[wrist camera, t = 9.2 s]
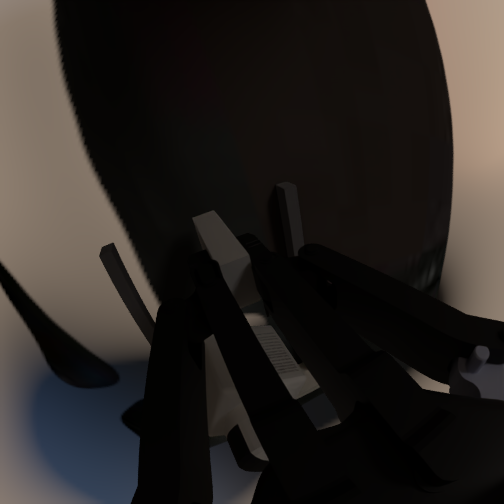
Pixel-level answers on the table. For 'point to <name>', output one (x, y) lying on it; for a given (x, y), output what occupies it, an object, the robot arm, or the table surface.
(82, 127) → the table surface
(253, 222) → the table surface
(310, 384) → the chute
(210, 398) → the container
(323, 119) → the table surface
